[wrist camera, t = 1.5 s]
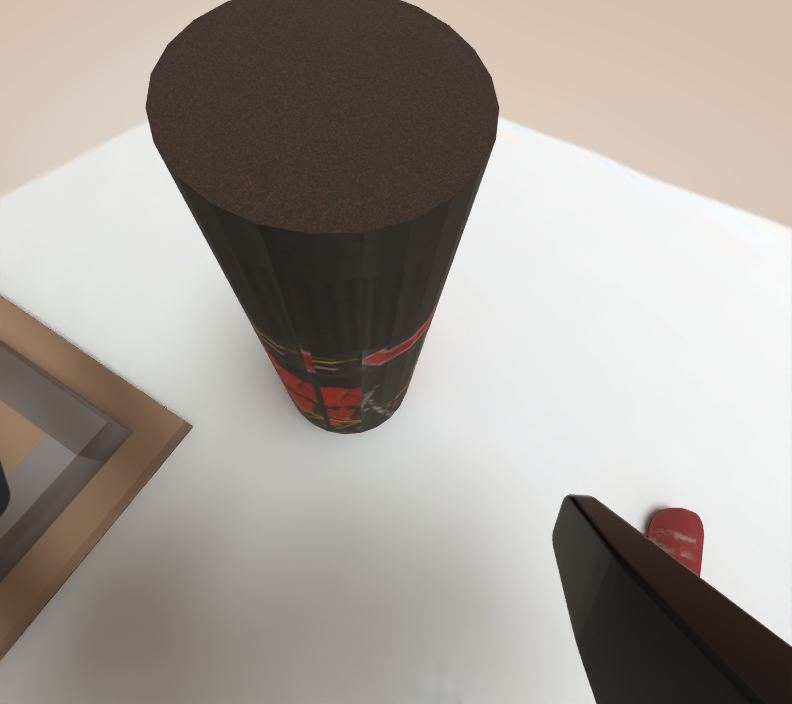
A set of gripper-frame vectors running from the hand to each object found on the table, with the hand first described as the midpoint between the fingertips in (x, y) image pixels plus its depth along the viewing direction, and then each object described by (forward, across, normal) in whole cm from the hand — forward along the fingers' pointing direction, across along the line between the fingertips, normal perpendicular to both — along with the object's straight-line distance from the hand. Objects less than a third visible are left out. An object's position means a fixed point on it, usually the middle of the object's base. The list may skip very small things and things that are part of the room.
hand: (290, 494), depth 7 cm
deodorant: (+14, 0, +5) cm, 15 cm away
